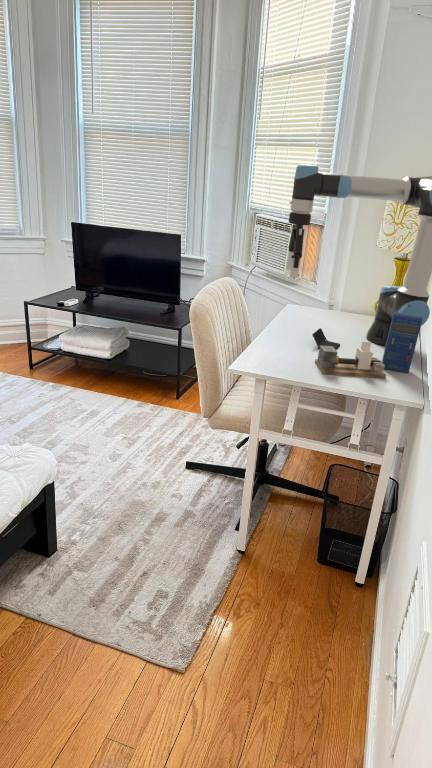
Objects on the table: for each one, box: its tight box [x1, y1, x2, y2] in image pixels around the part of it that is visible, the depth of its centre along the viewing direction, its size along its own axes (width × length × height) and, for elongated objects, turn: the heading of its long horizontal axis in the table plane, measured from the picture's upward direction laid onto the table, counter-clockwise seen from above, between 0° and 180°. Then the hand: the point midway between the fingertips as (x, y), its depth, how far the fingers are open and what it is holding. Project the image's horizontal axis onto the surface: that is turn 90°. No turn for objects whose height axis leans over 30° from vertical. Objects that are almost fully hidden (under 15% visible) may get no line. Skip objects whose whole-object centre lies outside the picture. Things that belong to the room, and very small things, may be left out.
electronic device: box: [381, 312, 422, 374], centre depth 184 cm, size 10×5×20 cm, turn 75°
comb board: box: [314, 346, 387, 379], centre depth 181 cm, size 22×11×7 cm, turn 94°
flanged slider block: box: [354, 340, 374, 370], centre depth 181 cm, size 4×5×9 cm
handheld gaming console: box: [311, 327, 341, 351], centre depth 205 cm, size 12×7×10 cm
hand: (291, 273), depth 192 cm, fingers open, 13 cm apart
